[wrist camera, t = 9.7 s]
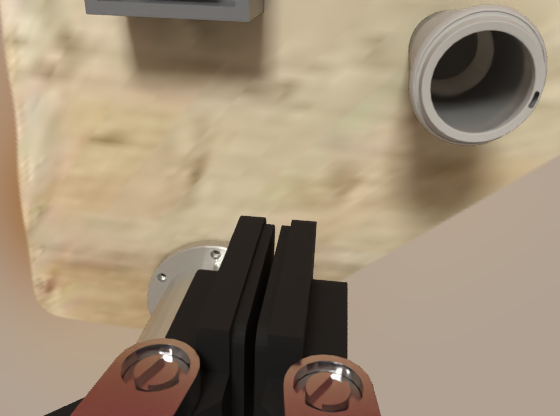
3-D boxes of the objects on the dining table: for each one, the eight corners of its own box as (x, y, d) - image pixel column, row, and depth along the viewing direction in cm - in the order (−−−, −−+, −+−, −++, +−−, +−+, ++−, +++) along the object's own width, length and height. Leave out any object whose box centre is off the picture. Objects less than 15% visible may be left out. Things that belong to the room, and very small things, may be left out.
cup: (468, 108, 39) (514, 169, 28) (379, 82, 38) (391, 132, 28) (512, 7, 35) (584, 30, 25) (416, -23, 35) (446, -12, 25)
